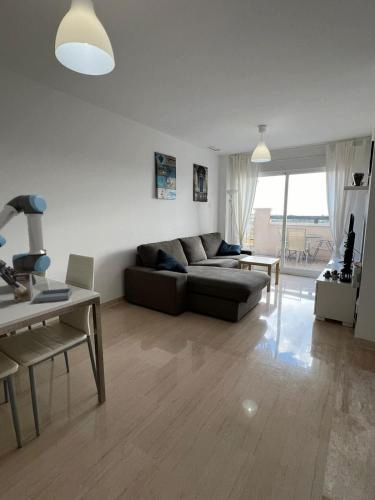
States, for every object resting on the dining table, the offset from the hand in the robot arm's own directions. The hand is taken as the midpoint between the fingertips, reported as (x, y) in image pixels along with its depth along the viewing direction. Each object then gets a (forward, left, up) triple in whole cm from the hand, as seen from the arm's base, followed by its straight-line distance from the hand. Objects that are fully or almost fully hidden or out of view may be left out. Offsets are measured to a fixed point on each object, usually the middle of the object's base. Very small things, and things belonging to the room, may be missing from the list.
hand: (27, 287), depth 155 cm
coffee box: (0, -3, -8) cm, 8 cm away
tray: (+1, +14, -7) cm, 16 cm away
